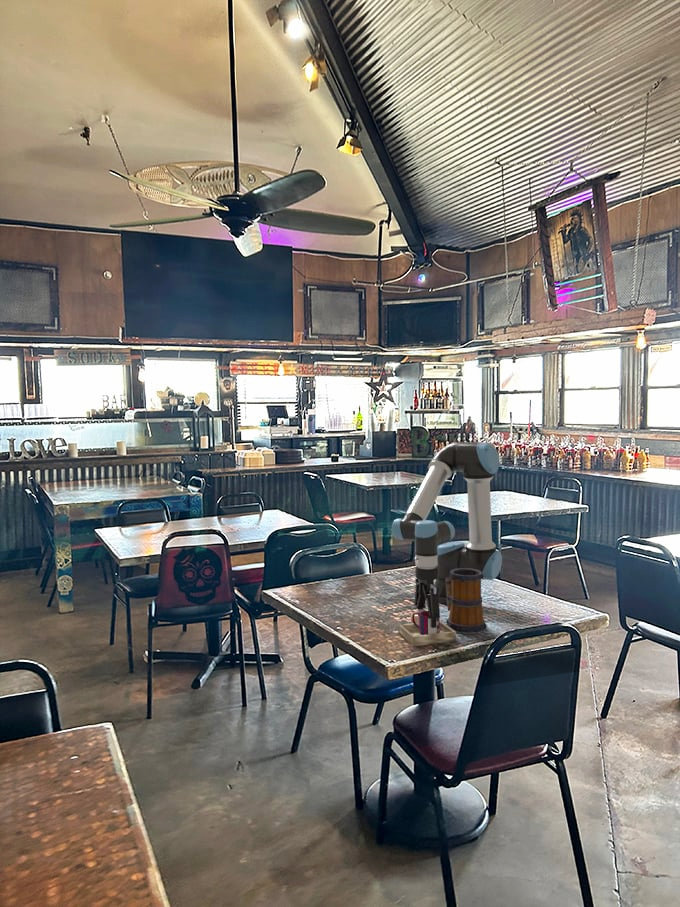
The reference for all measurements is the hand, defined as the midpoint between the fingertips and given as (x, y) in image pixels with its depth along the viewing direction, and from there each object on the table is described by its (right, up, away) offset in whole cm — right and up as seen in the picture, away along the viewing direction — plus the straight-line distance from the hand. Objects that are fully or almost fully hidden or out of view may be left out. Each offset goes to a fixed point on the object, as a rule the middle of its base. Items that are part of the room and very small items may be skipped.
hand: (426, 632), depth 216 cm
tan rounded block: (-1, -1, +13) cm, 13 cm away
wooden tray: (0, -2, 0) cm, 2 cm away
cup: (0, 0, +1) cm, 1 cm away
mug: (+14, -1, +12) cm, 18 cm away
